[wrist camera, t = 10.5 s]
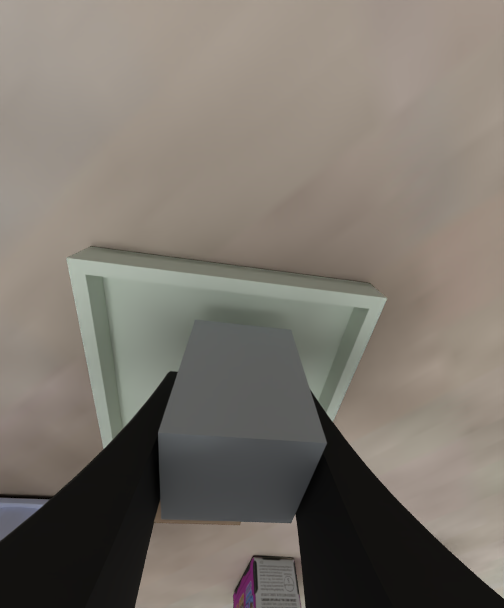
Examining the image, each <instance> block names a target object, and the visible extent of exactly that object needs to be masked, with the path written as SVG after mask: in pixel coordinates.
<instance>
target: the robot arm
mask: <svg viewBox="0 0 504 608" xmlns="http://www.w3.org/2000/svg"><path fill="white" fill-rule="evenodd" d="M177 373H178V372H176V371H170V372H168V373H167V374H166V376H165V377H164V379H163V380H162V382H161V383H160V384H159V386H158V387H157V389H156V390H155V391H154V392H153V394H152V395H151V396H150V398H149V399H148V400H147V401H146V403H145V404H144V405H143V406H142V407H141V408H140V410H139V411H138V412H137V413H136V414H135V416H134V417H133V418H132V419H131V420H130V421H129V423H128V424H127V425H126V426H125V427H124V428H123V429H122V430H121V431H120V432H119V433H118V434H117V436H116V437H115V438H114V439H113V440H112V441H111V442H110V443H109V444H108V445H107V446H106V447H105V448H104V449H103V450H102V451H101V452H100V453H99V454H98V455H97V456H96V457H95V458H94V459H93V460H92V461H91V462H90V463H89V464H88V465H87V466H86V467H85V468H84V469H83V470H82V471H81V472H80V473H79V474H78V475H77V476H75V477H74V478H73V479H72V480H71V481H70V482H69V483H68V484H67V485H66V486H64V487H63V488H62V489H61V490H60V491H59V492H58V493H57V494H56V495H54V496H53V497H52V498H51V499H24V498H0V608H135V603H136V599H137V595H138V590H139V586H140V581H141V577H142V572H143V568H144V563H145V559H146V555H147V550H148V546H149V542H150V537H151V533H152V529H153V524H154V520H155V517H156V513H157V509H158V506H159V502H160V473H159V445H158V431H159V428H160V425H161V422H162V419H163V416H164V413H165V410H166V407H167V404H168V401H169V398H170V395H171V392H172V389H173V386H174V382H175V379H176V376H177ZM310 391H311V390H310ZM311 394H312V397H313V401H314V404H315V407H316V410H317V413H318V416H319V419H320V423H321V426H322V429H323V432H324V435H325V438H326V442H327V444H326V447H325V449H324V451H323V453H322V455H321V458H320V460H319V462H318V464H317V467H316V469H315V471H314V473H313V476H312V478H311V480H310V482H309V484H308V487H307V489H306V491H305V493H304V496H303V498H302V500H301V502H300V504H299V507H298V509H297V511H296V513H295V514H296V520H297V527H298V536H299V545H300V555H301V564H302V574H303V585H304V595H305V606H306V608H504V599H503V598H502V597H501V596H500V595H499V594H497V593H496V592H495V591H494V590H493V589H491V588H490V587H489V586H488V585H487V584H486V583H484V582H483V581H482V580H481V579H480V578H479V577H478V576H476V575H475V574H474V573H473V572H472V571H471V570H470V569H469V568H468V567H466V566H465V565H464V564H463V563H462V562H461V561H460V560H459V559H458V558H457V557H455V556H454V555H453V554H452V553H451V552H450V551H449V550H448V549H447V548H446V547H445V546H444V545H442V544H441V543H440V542H439V541H438V540H437V539H436V538H435V537H434V536H433V535H432V534H431V533H430V532H429V531H428V530H427V529H426V528H425V527H424V526H423V525H422V524H421V523H420V522H419V521H418V520H417V519H416V518H415V517H414V516H413V515H412V514H411V513H410V512H409V511H408V510H407V509H406V508H405V507H404V506H403V505H402V504H401V503H400V502H399V501H398V500H397V499H396V498H395V497H394V496H393V495H392V494H391V493H390V491H389V490H388V489H387V488H386V487H385V486H384V485H383V484H382V483H381V482H380V480H379V479H378V478H377V477H376V476H375V475H374V474H373V473H372V471H371V470H370V469H369V468H368V467H367V466H366V464H365V463H364V462H363V461H362V459H361V458H360V457H359V456H358V455H357V453H356V452H355V451H354V450H353V448H352V447H351V446H350V444H349V443H348V442H347V441H346V439H345V438H344V437H343V435H342V434H341V433H340V431H339V430H338V428H337V427H336V426H335V424H334V423H333V422H332V420H331V419H330V417H329V416H328V415H327V413H326V412H325V410H324V409H323V407H322V406H321V405H320V403H319V402H318V400H317V399H316V397H315V396H314V394H313V393H312V391H311Z"/></svg>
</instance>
